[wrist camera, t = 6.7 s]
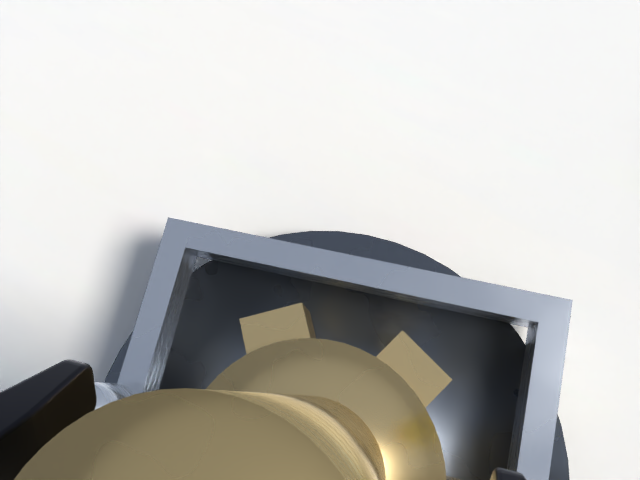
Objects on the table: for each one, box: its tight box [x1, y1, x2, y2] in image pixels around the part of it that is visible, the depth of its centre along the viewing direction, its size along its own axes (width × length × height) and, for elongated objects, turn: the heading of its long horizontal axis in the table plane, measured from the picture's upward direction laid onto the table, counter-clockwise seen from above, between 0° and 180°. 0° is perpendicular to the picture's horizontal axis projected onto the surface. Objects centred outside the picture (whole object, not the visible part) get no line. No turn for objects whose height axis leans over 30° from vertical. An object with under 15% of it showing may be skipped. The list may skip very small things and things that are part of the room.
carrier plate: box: [94, 218, 572, 480], centre depth 16 cm, size 14×14×4 cm
